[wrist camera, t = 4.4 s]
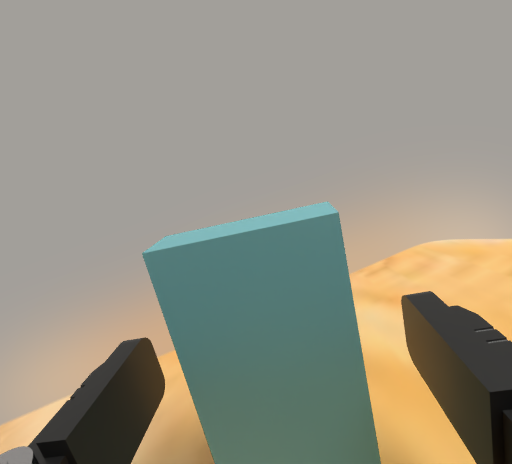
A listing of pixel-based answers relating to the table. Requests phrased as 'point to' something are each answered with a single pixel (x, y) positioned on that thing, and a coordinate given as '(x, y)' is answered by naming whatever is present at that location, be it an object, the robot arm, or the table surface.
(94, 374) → the robot arm
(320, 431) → the domino
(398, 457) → the table surface
